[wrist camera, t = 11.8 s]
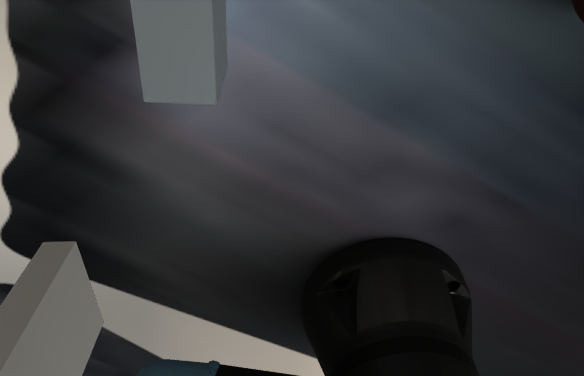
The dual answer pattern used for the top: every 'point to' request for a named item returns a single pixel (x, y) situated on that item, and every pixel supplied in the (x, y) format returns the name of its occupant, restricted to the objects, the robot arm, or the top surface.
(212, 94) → the smooth gray tapered block
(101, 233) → the top surface
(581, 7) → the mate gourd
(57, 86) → the top surface
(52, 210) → the top surface
